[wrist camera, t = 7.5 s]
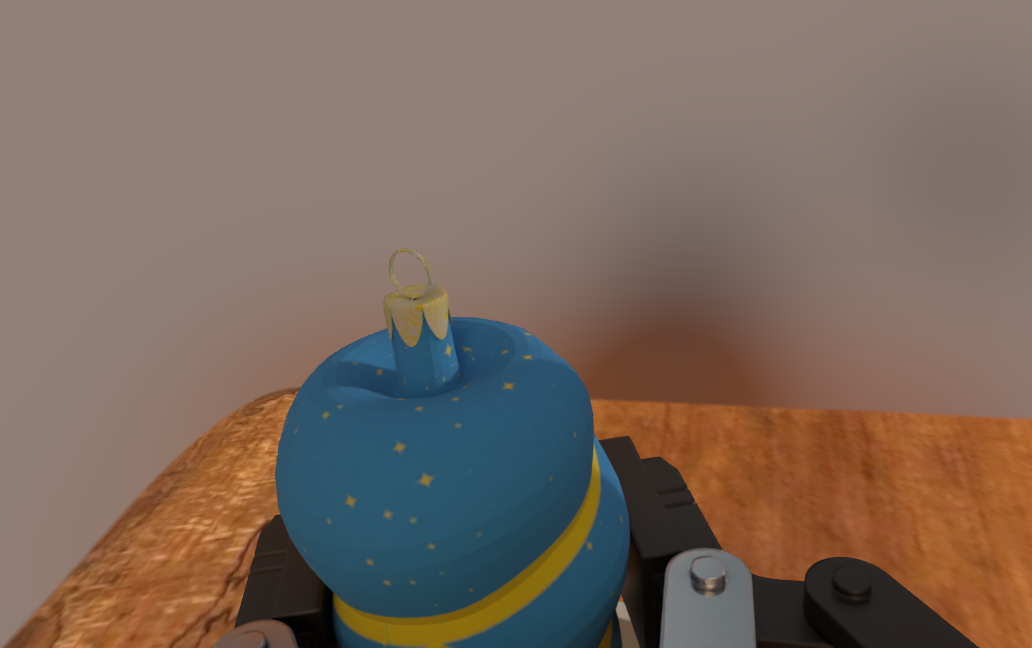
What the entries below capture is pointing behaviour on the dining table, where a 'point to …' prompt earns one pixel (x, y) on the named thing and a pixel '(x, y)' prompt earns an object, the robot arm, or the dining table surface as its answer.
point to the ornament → (454, 487)
